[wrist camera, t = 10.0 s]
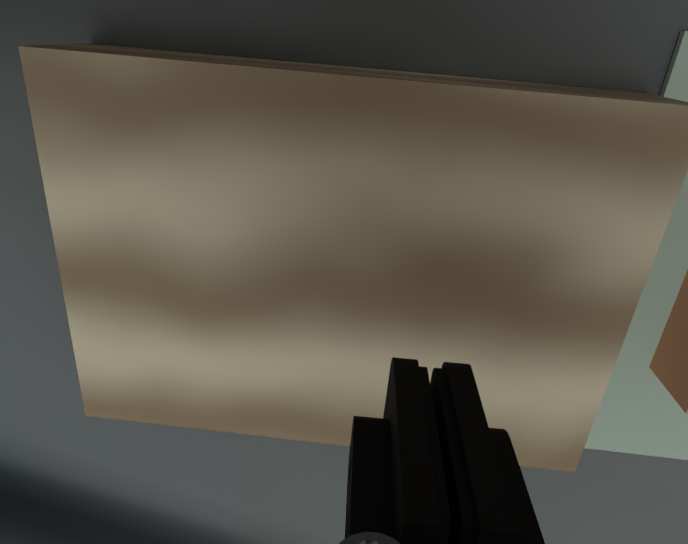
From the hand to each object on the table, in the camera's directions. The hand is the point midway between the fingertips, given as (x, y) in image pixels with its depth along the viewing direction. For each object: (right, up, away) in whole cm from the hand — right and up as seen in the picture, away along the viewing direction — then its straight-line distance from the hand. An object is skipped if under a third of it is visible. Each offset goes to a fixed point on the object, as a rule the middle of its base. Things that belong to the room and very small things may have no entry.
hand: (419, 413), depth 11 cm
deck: (-2, +4, +10) cm, 11 cm away
